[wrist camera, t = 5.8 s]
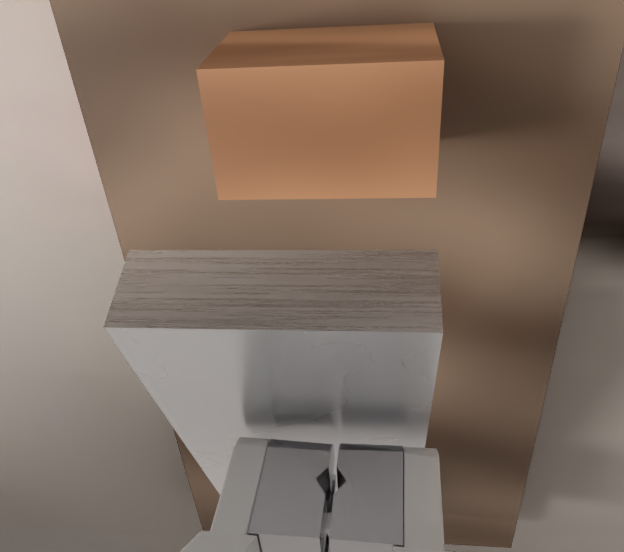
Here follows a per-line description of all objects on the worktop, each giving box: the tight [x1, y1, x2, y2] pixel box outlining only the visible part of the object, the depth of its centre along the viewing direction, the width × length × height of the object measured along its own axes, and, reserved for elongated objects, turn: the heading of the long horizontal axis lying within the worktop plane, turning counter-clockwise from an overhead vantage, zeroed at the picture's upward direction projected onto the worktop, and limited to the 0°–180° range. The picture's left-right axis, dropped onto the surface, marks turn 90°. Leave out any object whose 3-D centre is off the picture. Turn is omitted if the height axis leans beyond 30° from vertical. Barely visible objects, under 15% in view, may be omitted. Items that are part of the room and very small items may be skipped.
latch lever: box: [103, 250, 443, 494], centre depth 15 cm, size 18×4×1 cm, turn 4°
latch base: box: [49, 0, 624, 548], centre depth 18 cm, size 26×14×7 cm, turn 4°
